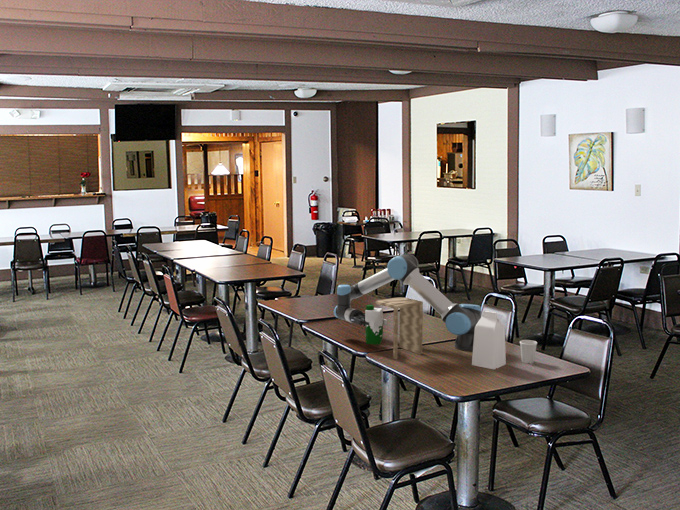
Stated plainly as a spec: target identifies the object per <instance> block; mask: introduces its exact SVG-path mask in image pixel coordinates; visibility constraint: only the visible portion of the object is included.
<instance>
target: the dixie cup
mask: <svg viewBox="0 0 680 510" xmlns="http://www.w3.org/2000/svg"><path fill="white" fill-rule="evenodd" d="M519 345H520V356H521V362H522V363H524V364H528V363H530V364H534V363H535V356H536V352H537V345H538V342H537V341H536V340H530V339H522V340H519Z"/></svg>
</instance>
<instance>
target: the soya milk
mask: <svg viewBox="0 0 680 510" xmlns="http://www.w3.org/2000/svg"><path fill="white" fill-rule="evenodd" d="M364 312H365V313H364V314H365V321H366V322H369V325H366V326H364V327H365V328H364V331H365V332H364V333H365V335H364V336H365V342H366V343H365V344H366V345H378V346H380V345H381V343H382V342H383V336H384V324H383V319H384V316H383V315H384V313H383V307H382V308H381V307H380V308H379V307H375V305H374V304H366V305H365V311H364ZM371 321H373V322H375V327H371Z"/></svg>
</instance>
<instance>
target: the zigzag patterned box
mask: <svg viewBox="0 0 680 510" xmlns="http://www.w3.org/2000/svg"><path fill="white" fill-rule="evenodd" d="M374 303H375V305H379V306H382V307H385V308H386V307H387V308H390V309H393V319H392V320H393V327H392V329H393V331H392V332H393V335H392V337H393V338H392V339H393V340H392V341H393V342H392V343H393V344H392V345H393V346H392V347H393V348H392V351H393V352H392V359H394V360H397V359H398V347H399V348H401V349H404V350H406V351H408V352H412V353H415V354H419V355H422V354H423V325H424V324H423V320H424V319H423V316H424V315H423V313H424V312H423V311H424V308H423V307H424V306H423V305H424V302H423V301H422V300H417V299H412V298H409V297H403V296H400V297H392V298H386V299H385V298H384V299H378V300H375V301H374ZM398 318H399V319H398ZM398 322H399V323H398ZM398 324H399V325H398ZM398 326H399V327H398ZM398 332H399V333H398ZM398 334H399V338H398ZM398 340H399V344H398ZM398 345H399V346H398Z"/></svg>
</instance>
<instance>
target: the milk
mask: <svg viewBox="0 0 680 510" xmlns="http://www.w3.org/2000/svg"><path fill="white" fill-rule="evenodd" d="M506 357H507V355H506V328H505V325H504V323H503V322H502V321H501V319H500V318H499V317H498V313H497V312H496V311H489V310H484V311H483V313H482V314H481V318H480V320H479V321H478V323H477V324H476V326H475V330H474V343H473V351H472V357H471V366H475V367H481V368H485V369H490V370H496V368H497V369H499V368H500V367H503V366H506V363H507V359H506Z"/></svg>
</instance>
